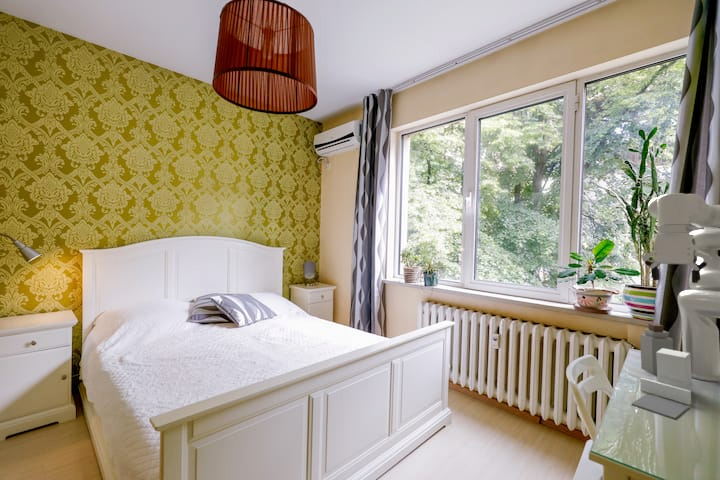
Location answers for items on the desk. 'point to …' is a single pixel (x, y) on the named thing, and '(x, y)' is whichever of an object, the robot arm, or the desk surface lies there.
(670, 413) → the charcoal mat
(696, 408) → the desk surface
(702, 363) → the robot arm
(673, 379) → the supplement box
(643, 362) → the perfume bottle
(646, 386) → the frosted wall
